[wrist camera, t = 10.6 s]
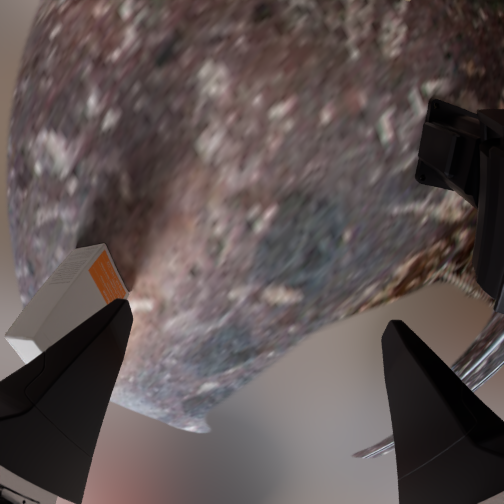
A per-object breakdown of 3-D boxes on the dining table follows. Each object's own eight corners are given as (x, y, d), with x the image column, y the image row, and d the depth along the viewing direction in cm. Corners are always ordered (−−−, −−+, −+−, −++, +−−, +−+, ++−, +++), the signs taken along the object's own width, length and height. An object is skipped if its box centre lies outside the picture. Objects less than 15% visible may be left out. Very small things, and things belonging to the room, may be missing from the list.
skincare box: (131, 293, 27) (81, 396, 17) (99, 295, 28) (47, 388, 18) (106, 240, 24) (32, 340, 14) (73, 246, 24) (1, 336, 14)
